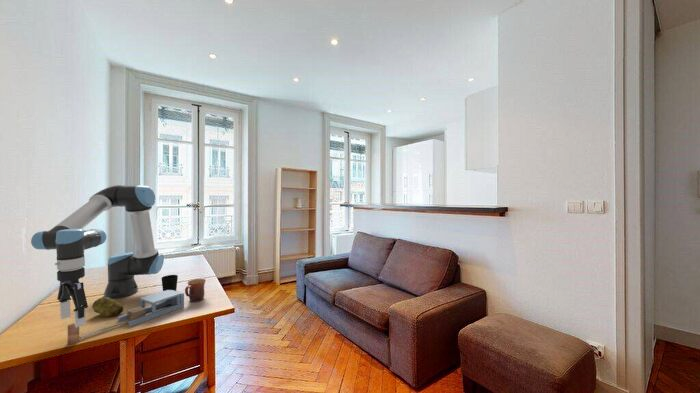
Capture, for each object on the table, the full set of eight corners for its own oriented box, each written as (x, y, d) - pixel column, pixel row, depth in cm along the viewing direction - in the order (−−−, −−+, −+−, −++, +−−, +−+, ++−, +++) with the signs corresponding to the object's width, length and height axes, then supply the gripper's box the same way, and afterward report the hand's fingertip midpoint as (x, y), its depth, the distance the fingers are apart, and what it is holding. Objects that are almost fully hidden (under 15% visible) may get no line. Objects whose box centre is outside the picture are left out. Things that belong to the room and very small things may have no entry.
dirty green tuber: (105, 321, 123) (105, 303, 123) (89, 316, 128) (89, 299, 128) (125, 313, 131) (125, 297, 131) (110, 309, 135) (110, 293, 135)
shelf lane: (117, 321, 123) (117, 305, 123) (171, 302, 144) (171, 288, 144) (130, 326, 118) (130, 309, 118) (184, 306, 139) (183, 292, 139)
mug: (196, 295, 153) (196, 278, 153) (209, 297, 152) (209, 279, 151) (178, 304, 142) (178, 285, 141) (193, 305, 140) (192, 286, 140)
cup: (180, 296, 152) (180, 275, 152) (166, 301, 145) (166, 279, 145) (172, 294, 155) (172, 274, 155) (158, 299, 148) (158, 277, 148)
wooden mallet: (65, 342, 105) (65, 324, 105) (140, 316, 127) (139, 302, 127) (70, 346, 103) (70, 328, 103) (145, 319, 125) (145, 304, 125)
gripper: (44, 266, 107) (46, 318, 108) (71, 276, 96) (73, 334, 97) (70, 261, 114) (72, 310, 114) (98, 270, 102) (99, 324, 103)
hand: (72, 321), depth 105 cm, fingers open, 13 cm apart
